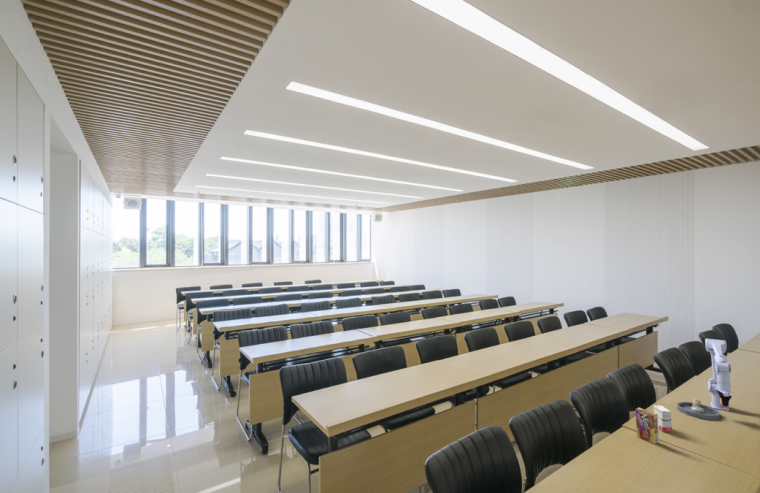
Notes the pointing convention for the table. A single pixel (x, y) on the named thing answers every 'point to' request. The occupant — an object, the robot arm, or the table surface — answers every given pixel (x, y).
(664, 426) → the ink box
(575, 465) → the table surface
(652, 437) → the candy box
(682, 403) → the groove tray
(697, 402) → the birch bead
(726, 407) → the terracotta bead
